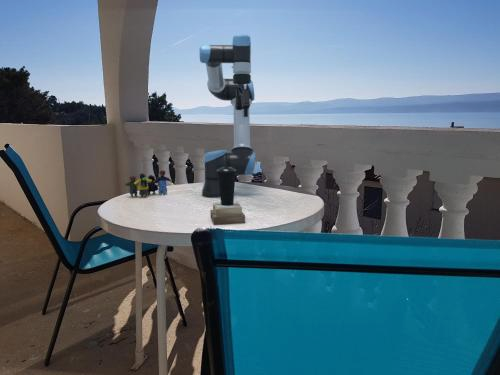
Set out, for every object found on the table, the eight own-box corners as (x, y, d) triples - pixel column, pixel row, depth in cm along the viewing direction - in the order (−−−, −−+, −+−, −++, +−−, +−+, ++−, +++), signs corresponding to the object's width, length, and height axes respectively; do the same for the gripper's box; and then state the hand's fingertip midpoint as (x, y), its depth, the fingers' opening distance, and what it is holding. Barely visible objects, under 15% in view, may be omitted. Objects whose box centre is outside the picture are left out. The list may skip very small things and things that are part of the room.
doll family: (165, 192, 205) (164, 168, 202) (173, 194, 198) (172, 169, 196) (125, 198, 189) (123, 172, 187) (133, 200, 183) (131, 174, 180)
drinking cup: (217, 202, 148) (216, 152, 145) (236, 202, 149) (235, 152, 145) (217, 206, 141) (216, 154, 137) (237, 206, 142) (236, 154, 138)
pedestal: (210, 217, 151) (210, 201, 150) (239, 215, 153) (239, 200, 152) (213, 225, 139) (213, 208, 138) (245, 223, 142) (245, 207, 140)
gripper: (228, 77, 167) (229, 124, 171) (238, 69, 143) (238, 125, 147) (244, 77, 169) (245, 124, 173) (257, 70, 145) (257, 125, 149)
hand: (242, 125), depth 160 cm, fingers open, 13 cm apart
